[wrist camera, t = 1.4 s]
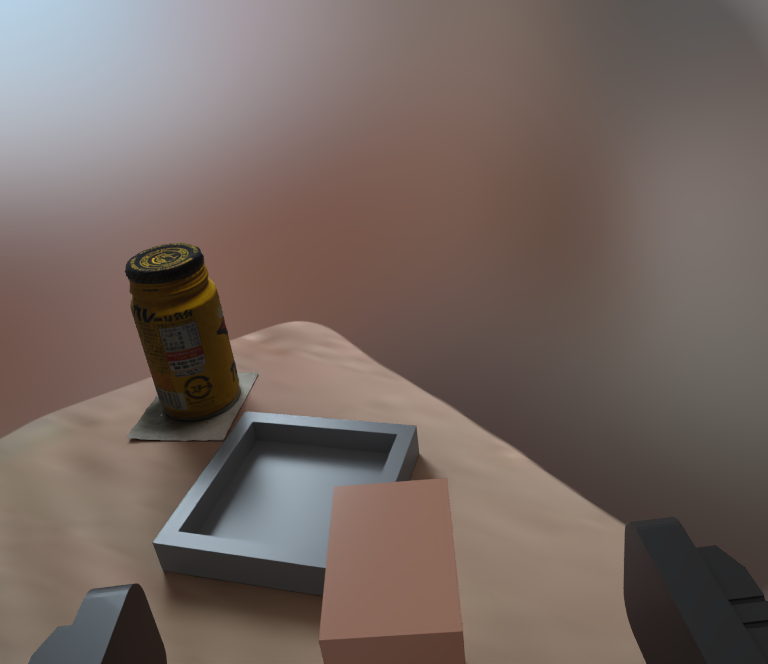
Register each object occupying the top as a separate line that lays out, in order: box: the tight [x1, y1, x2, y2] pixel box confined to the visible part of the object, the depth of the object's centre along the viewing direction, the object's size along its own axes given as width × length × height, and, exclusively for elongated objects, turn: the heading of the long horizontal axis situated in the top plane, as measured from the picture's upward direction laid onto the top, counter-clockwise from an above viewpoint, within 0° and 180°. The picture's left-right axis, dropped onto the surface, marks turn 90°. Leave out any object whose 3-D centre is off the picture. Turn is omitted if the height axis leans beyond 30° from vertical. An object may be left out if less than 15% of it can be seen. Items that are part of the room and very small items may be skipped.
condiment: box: [125, 243, 258, 441], centre depth 51 cm, size 7×8×12 cm
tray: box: [153, 411, 419, 596], centre depth 43 cm, size 12×12×2 cm
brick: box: [319, 478, 465, 664], centre depth 28 cm, size 4×7×11 cm, turn 179°
